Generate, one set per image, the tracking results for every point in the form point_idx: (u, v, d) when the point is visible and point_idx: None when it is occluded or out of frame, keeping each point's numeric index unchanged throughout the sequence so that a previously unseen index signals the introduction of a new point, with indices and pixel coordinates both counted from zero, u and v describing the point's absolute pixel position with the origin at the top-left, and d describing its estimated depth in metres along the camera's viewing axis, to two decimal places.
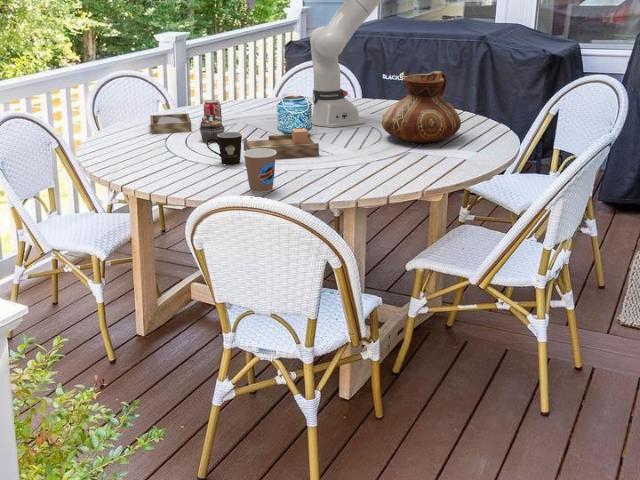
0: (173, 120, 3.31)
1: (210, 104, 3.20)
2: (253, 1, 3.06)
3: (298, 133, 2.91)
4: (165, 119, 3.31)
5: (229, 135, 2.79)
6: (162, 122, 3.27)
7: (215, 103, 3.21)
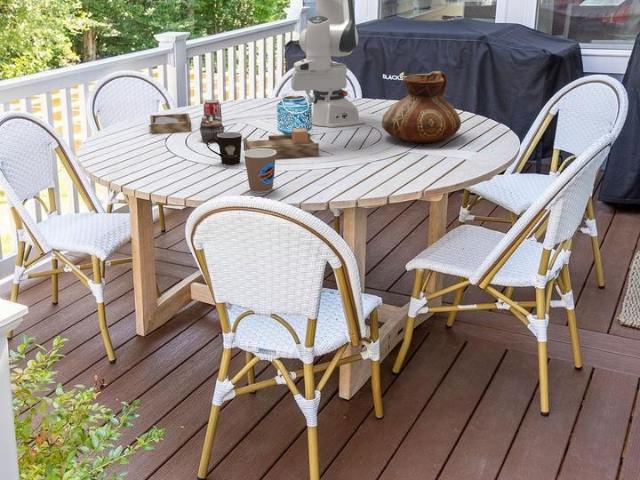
0: (170, 120, 3.31)
1: (210, 104, 3.20)
2: None
3: (298, 133, 2.91)
4: (162, 119, 3.31)
5: (229, 135, 2.79)
6: (159, 122, 3.27)
7: (215, 103, 3.21)
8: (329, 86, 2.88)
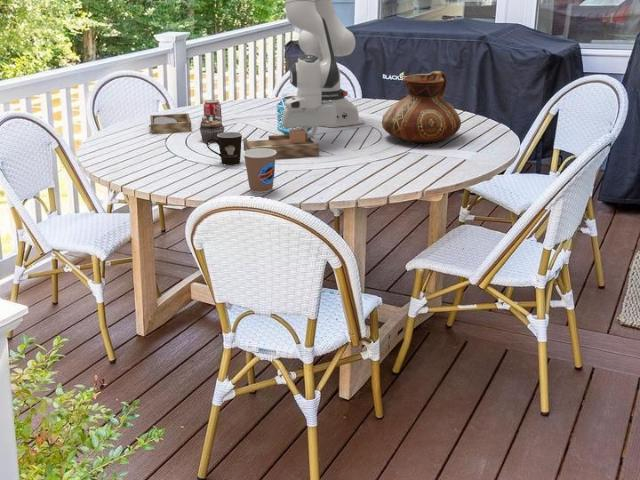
0: (169, 120, 3.31)
1: (210, 104, 3.20)
2: None
3: (296, 133, 2.91)
4: (161, 119, 3.31)
5: (229, 135, 2.79)
6: (158, 122, 3.27)
7: (215, 103, 3.21)
8: (320, 123, 2.92)
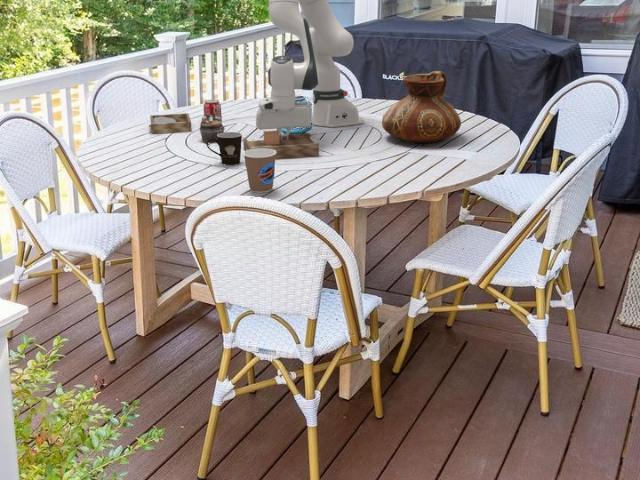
0: (168, 120, 3.32)
1: (210, 104, 3.20)
2: None
3: (269, 135, 2.89)
4: (160, 119, 3.31)
5: (229, 135, 2.79)
6: (158, 122, 3.27)
7: (215, 103, 3.21)
8: (294, 124, 2.90)
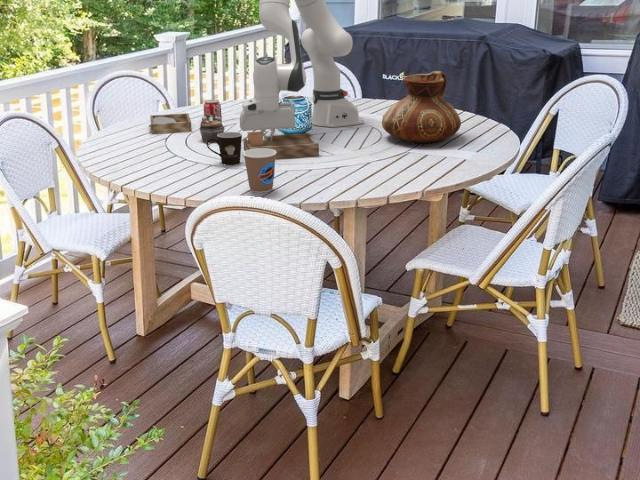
0: (168, 120, 3.32)
1: (210, 104, 3.20)
2: None
3: (253, 136, 2.88)
4: (160, 119, 3.31)
5: (229, 135, 2.79)
6: (158, 122, 3.27)
7: (215, 103, 3.21)
8: (278, 126, 2.89)
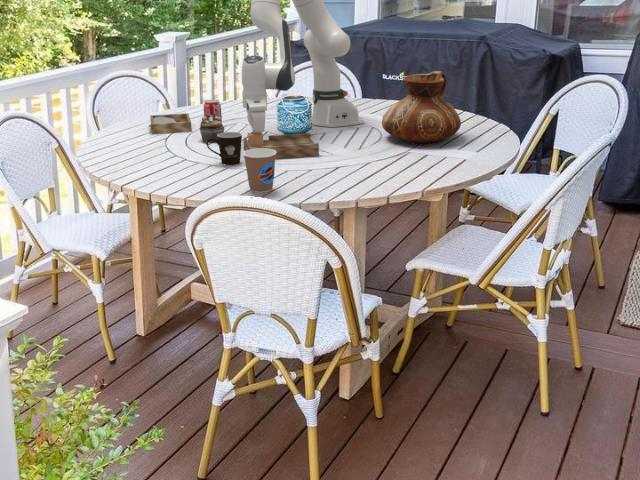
0: (168, 120, 3.32)
1: (210, 104, 3.20)
2: None
3: (253, 137, 2.87)
4: (160, 119, 3.31)
5: (229, 135, 2.79)
6: (158, 122, 3.27)
7: (215, 103, 3.21)
8: None
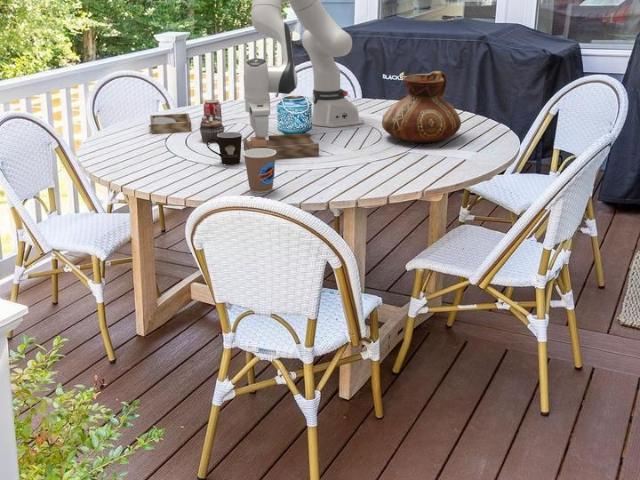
0: (168, 120, 3.31)
1: (210, 104, 3.20)
2: None
3: (256, 141, 2.80)
4: (160, 119, 3.31)
5: (229, 135, 2.79)
6: (158, 122, 3.27)
7: (215, 103, 3.21)
8: None
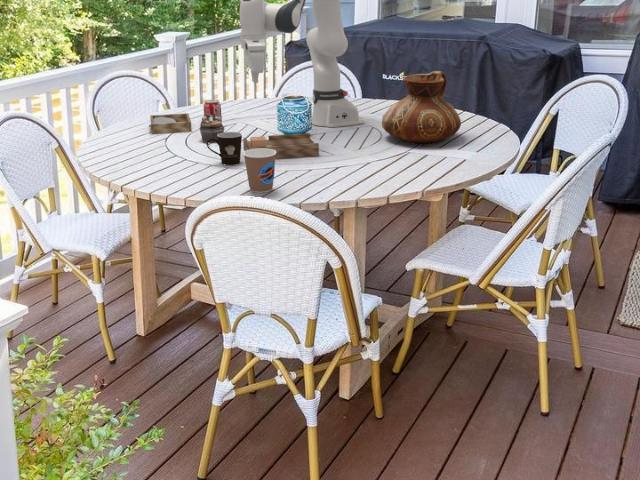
0: (168, 120, 3.31)
1: (210, 104, 3.20)
2: None
3: (256, 141, 2.80)
4: (160, 119, 3.30)
5: (229, 135, 2.79)
6: (158, 122, 3.27)
7: (215, 103, 3.21)
8: None
